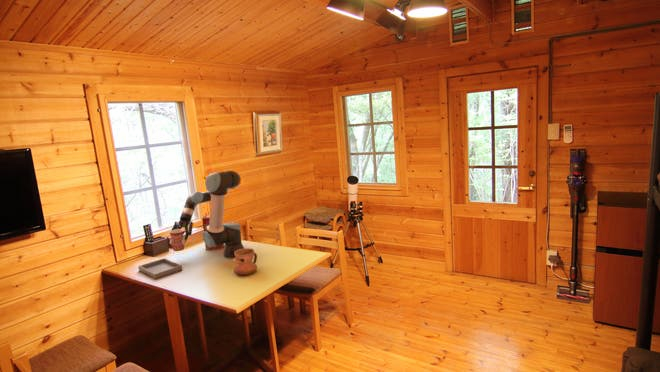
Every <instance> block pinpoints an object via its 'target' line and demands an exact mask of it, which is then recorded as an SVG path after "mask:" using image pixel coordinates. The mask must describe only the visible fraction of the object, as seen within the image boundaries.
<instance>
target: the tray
mask: <svg viewBox="0 0 660 372" xmlns="http://www.w3.org/2000/svg"><path fill="white" fill-rule="evenodd" d="M138 271H139V272H140V273H142V274H144V275H146V276H148V277H149V278H151V279H153V280H159V279H161V278H164V277H168V276H171V275H173V274H176V273H178V272H179V273H180V272H182V271H183V266H182V264H179V263H177V262H175V261H173V260H170V259H168V258H166V257H163V258H160V259H158V260H154V261H150V262H148V263H145V264H141V265H138Z"/></svg>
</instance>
